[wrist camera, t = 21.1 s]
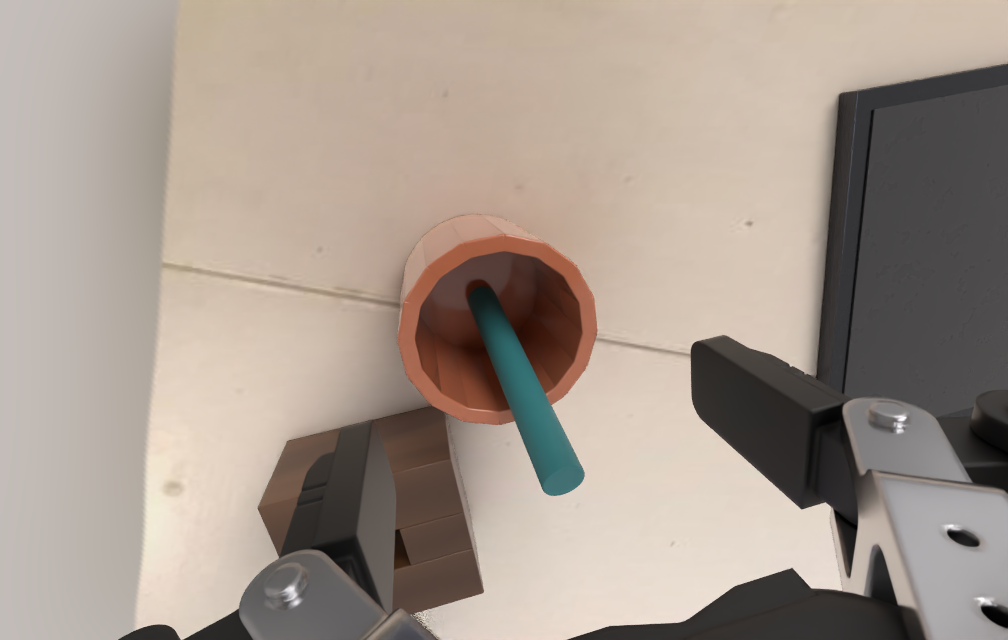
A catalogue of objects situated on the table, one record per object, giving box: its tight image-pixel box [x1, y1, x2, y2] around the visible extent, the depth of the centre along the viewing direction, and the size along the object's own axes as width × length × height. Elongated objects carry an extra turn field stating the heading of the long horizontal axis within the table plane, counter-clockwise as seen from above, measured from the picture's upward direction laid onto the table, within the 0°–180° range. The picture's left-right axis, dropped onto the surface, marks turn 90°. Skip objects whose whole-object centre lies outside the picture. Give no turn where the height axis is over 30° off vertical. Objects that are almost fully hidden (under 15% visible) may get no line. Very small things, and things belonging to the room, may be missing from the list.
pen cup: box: [397, 214, 597, 425], centre depth 20 cm, size 7×7×7 cm
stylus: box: [468, 286, 585, 496], centre depth 18 cm, size 1×1×11 cm
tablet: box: [817, 64, 1008, 418], centre depth 28 cm, size 22×16×1 cm
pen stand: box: [258, 406, 484, 614], centre depth 23 cm, size 8×8×5 cm
